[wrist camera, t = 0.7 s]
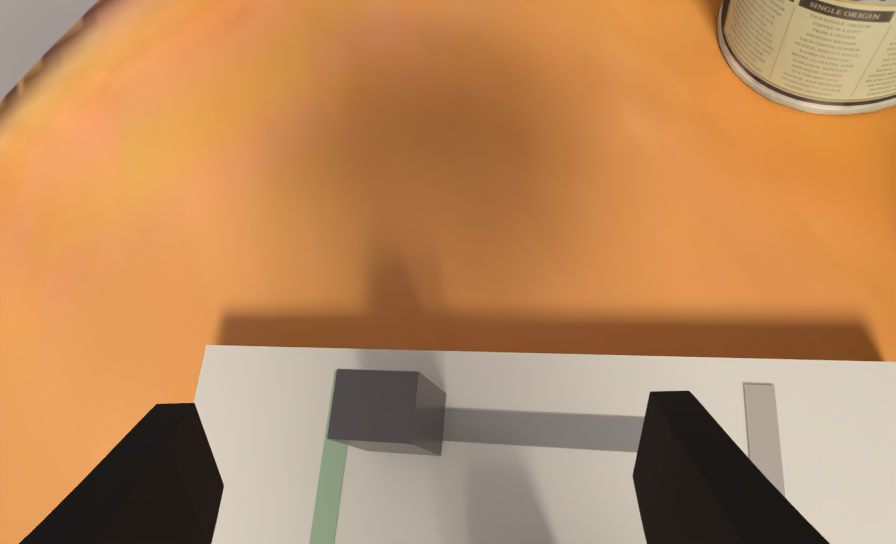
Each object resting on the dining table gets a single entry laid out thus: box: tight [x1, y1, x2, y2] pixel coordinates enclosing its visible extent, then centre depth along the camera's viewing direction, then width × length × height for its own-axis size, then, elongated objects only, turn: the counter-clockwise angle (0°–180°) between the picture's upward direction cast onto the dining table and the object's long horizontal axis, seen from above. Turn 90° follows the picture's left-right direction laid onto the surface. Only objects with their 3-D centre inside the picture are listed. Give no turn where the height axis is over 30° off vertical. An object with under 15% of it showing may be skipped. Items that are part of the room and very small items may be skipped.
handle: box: [327, 369, 446, 456], centre depth 23 cm, size 2×3×4 cm
